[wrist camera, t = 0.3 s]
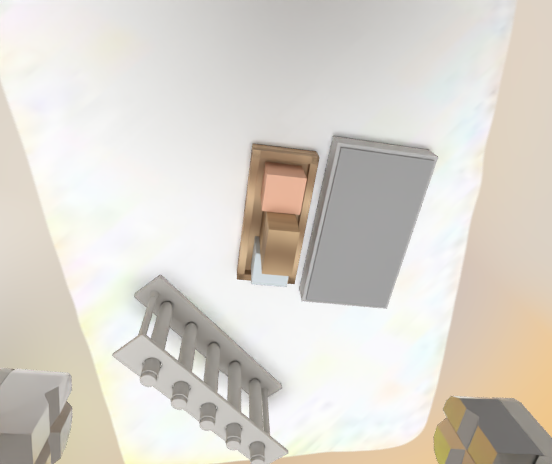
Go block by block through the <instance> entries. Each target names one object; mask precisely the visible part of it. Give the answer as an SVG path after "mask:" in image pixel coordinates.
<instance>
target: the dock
mask: <svg viewBox="0 0 552 464" xmlns="http://www.w3.org/2000/svg"><path fill="white" fill-rule="evenodd" d="M437 159H438V156H436V155H435V154H434V153H432V152H431V151H430V150H426V149H420V148H413V147H406V146H399V145H392V144H385V143H378V142H371V141H364V140H357V139H350V138H343V137H336V136H333V138H332V143H331V148H330V152H329V157H328V161H327V166H326V170H325V175H324V179H323V184H322V188H321V193H320V197H319V202H318V206H317V211H316V216H315V220H314V225H313V229H312V234H311V238H310V243H309V247H308V252H307V256H306V261H305V265H304V270H303V274H302V279H301V284H300V288H299V290H300V295H301V300H302V301H306V302H317V303H329V304H340V305H351V306H363V307H374V308H385V309H387V306H388V303H389V300H390V297H391V294H392V291H393V288H394V285H395V282H396V279H397V277H398V274H399V271H400V268H401V265H402V262H403V259H404V256H405V253H406V250H407V247H408V244H409V241H410V238H411V235H412V232H413V229H414V226H415V224H416V221H417V218H418V215H419V212H420V209H421V206H422V203H423V200H424V197H425V194H426V191H427V188H428V185H429V182H430V179H431V176H432V173H433V170H434V168H435V165H436V162H437Z"/></svg>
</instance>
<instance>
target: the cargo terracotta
mask: <svg viewBox="0 0 552 464" xmlns="http://www.w3.org/2000/svg"><path fill="white" fill-rule="evenodd" d="M306 181H307V178H306V175H305V173H304V170H303V168H302V166H298V165H289V164H281V163H272V162H265V167H264V174H263V181H262V188H261V196H260V197H261V206H262V211H267V212H277V213H286V214H296V215H300V213H301V208H302V202H303V197H304V191H305V186H306Z"/></svg>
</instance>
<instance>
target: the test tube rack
mask: <svg viewBox="0 0 552 464" xmlns="http://www.w3.org/2000/svg"><path fill="white" fill-rule="evenodd" d="M134 297H135V298H136V299H137V300H138V301H139V302H141V303H142V304H143V305H144V306H145V307H146V308H147V309H146V313H145V316H144V319H143V322H142V325H141V328H140V331H139V334H138V336H137V337H135V338H134V339H133V340H131V341H130V342H128V343H127V344H125V345H124V346H123V347H121V348H120V349H118V350H117V351H116V352H114V353H113V355H112V356H113V357H114V358H116V359H117V360H118V361H120V362H121V363H122V364H124V365H125V366H126V367H128V368H129V369H130V370H132V371H133V372H134V373H136V374H137V375H138V376H140V382H141V384H142V385H144V386H146V387H152V386H153V387H154V388H155V389H157V390H158V391H159V392H161V393H162V394H163V395H165V396H166V397H167V398H169V399H170V400H171V406H172V407H173V408H175V409H178V410H181V409H183V410H185V411H186V412H187V413H189V414H190V415H191V416H193V417H194V418H195V419H197V420H198V421H199V423H200V428H201V429H203V430H205V431H210V430H211V431H213V432H214V433H215V434H217V435H218V436H219V437H221V438H222V439H223V440H225V443H226V446H227V448H228V449H230V450H238V451H239V452H240V453H242V454H243V455H244V456H246V457H247V458H248V459H250V462H251V464H270V463H272V462H273V461H275V460H277V459H279V458H281V457H282V456H284V455H286V454H288V450H287V449H286V448H284V447H283V446H282V445H281V444H280V443H278V442H277V441H276V440H275V439H273V438H272V437H271V436H270V427H269V412H268V397H269V396H270V395H272V394H274V393H275V392H277V391H279V390H280V389H282V385H281V384H280V383H279V382H278V381H277V380H276V379H275V378H274V377H273V376H272V375H270V374H269V373H268V372H267V371H266V370H265V369H264V368H263V367H262V366H261V365H259V364H258V363H257V362H256V361H255V360H254V359H253V358H252V357H251V356H250V355H248V354H247V353H246V352H245V351H244V350H243V349H242V348H241V347H240V346H239V345H237V344H236V343H235V342H234V341H233V340H232V339H231V338H230V337H229V336H228V335H227V334H225V333H224V332H223V331H222V330H221V329H220V328H219V327H218V326H217V325H216V324H214V323H213V322H212V321H211V320H210V319H209V318H208V317H207V316H206V315H205V314H203V313H202V312H201V311H200V310H199V309H198V308H197V307H196V306H195V305H194V304H192V303H191V302H190V301H189V300H188V299H187V298H186V297H185V296H184V295H183V294H181V293H180V292H179V291H178V290H177V289H176V288H175V287H174V286H173V285H172V284H171V283H169V282H168V281H167V280H166V279H165V278H164V277H163V276H162V275H159V276H158V277H156V278H155V279H154V280H152V281H151V282H150V283H148V284H147V285H146V286H144V287H143V288H141V289H140V290H139V291H137V292H136V293H135V295H134ZM153 313H154V314H155V315H156V316H157V318H156V322H155V325H154V329H153V333H152V336H151V338H149V337H148V336H147V335H146V334H147V330H148V327H149V324H150V320H151V317H152V314H153ZM169 328H171V329H172V330H174V331H175V332H176V333H177V334H178V335H179V336H181V337H182V343H181V348H180V354H179V359H178V360H176V359H175V358H174V357H173V356H171V355H170V354H169V353H168V352H167V351H165V350H164V349H165V345H166V341H167V336H168V332H169ZM195 349H196V350H197V351H198V352H199V353H201V354H202V355H203V356H204V357H205V358H206V363H205V373H204V382H203V381H202V380H201V379H200V378H198V377H197V376H196V375H195V374H194V373H192V367H193V360H194V353H195ZM143 362H144V364H143ZM161 364H162V365H161ZM160 366H161V367H160ZM219 370H221V371H222V372H223V373H224V374H225V375H226V376H228V396H227V400H225V399H224V398H223V397H222V396H221V395H219V394H218V393H217V390H218V374H219ZM173 384H174V386H173ZM189 388H190V389H189ZM241 388H242V389H243V390H244V391H245V392H246V393H248V394H249V418H248V417H246V416H245V415H244V414H243V413H241ZM216 406H217V409H216ZM200 407H201V408H200ZM262 409H263V415H262ZM241 426H242V428H241ZM263 428H264V430H263ZM249 445H250V446H249Z"/></svg>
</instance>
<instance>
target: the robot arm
mask: <svg viewBox="0 0 552 464" xmlns="http://www.w3.org/2000/svg"><path fill="white" fill-rule="evenodd" d="M71 391H72V379H71V375H70V374H69V373H63V372H51V371H38V370H26V369H10V368H0V464H54V463H55V462H56V461H58V460H59V459H60V458H61V456H62V454H63V452H64V450H65V447H66V445H67V441H68V437H69V433H70V430H71V423H72V406H71V405H70V404H69V403H68V402H67V398H68V397H69V395H70V393H71ZM443 411H444V413H445V415H446V418H445V419H444V420H443V421H442V422H441V423H439V424H438V425H437V428H436V431H435V434H434V451H435V455H436V459H437V461H438V463H439V464H552V438H551V437H550V435H549V434H548V433H547V432H546V431H545V430H544V429H543V427H542V426H541V425H540V424H539V423H538V422H537V420H536V419H535V418H534V417H533V416H532V415H531V414H530V412H529V411H528V410H527V409H526V408H525V407H524V406H523V404H522V403H521V402H519V401H517V400H515V399H514V398H482V397H481V398H480V397H462V396H451V397H450V398H449V399H448V400H447V401H446V403H445V406H444V408H443Z"/></svg>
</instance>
